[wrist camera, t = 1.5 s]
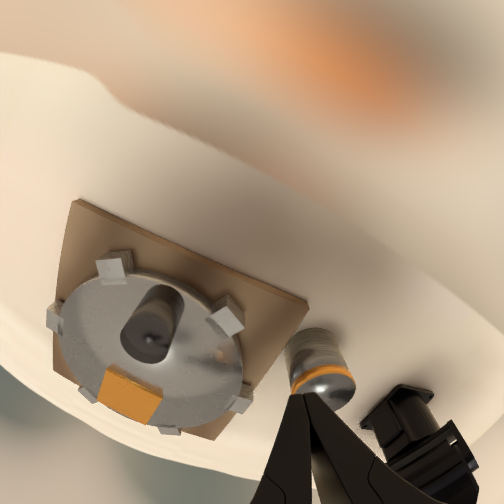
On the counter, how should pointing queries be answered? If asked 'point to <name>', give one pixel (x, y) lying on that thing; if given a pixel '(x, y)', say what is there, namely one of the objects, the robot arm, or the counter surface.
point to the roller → (319, 367)
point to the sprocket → (152, 346)
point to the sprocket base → (189, 272)
